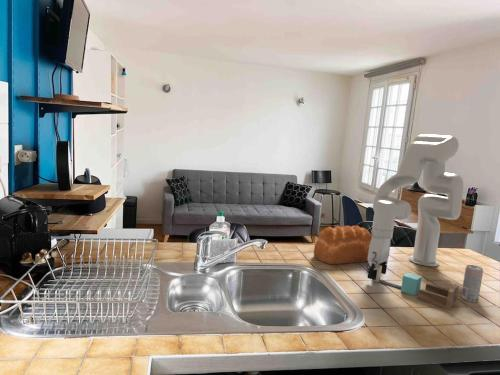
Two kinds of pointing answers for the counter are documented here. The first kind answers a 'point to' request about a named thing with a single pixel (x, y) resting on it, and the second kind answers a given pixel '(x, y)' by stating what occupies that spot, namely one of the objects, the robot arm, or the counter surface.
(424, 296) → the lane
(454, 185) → the robot arm
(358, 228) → the bread
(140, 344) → the counter surface
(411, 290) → the teal block with rod
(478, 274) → the energy drink
